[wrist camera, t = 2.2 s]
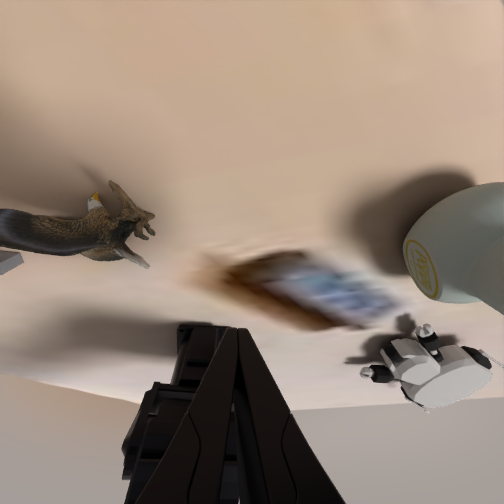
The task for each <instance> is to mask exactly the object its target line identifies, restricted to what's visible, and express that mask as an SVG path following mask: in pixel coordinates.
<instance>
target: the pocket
mask: <svg viewBox="0 0 504 504" xmlns="http://www.w3.org/2000/svg"><path fill="white" fill-rule="evenodd" d="M22 263H23V259H22V257H21V255H20V253H16V252H5V251H0V275H3V274H4V273H6V272H8V271H10V270H11V269H13V268H15V267H16V266H18V265H20V264H22Z"/></svg>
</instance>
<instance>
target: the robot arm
mask: <svg viewBox="0 0 504 504" xmlns="http://www.w3.org/2000/svg"><path fill="white" fill-rule="evenodd" d="M177 348H178V357H177V361H176V365H175V368H174V372H173V375H172V379H171V383H170V384H163V383H160V382H154V384H153V387H152V389H151V390H149V391H146V392H145V395H144V398H143V401H142V403H141V406H140V409H139V411H138V413H137V416H136V417H135V419H134V421H133V423H132V425H131V428H130V429H129V431H128V433H127V435H126V437H125V439H124V442H123V445H122V452H123V454H124V457H125V459H124V470H123V475H122V480H130V484H129V488H128V491H127V495H126V499H125V503H124V504H238V502H239V500H240V504H346V503H345V501H344V500H343V498H342V497H341V495H340V494H339V492H338V490H337V489H336V487H335V486H334V484H333V483H332V481H331V480H330V478H329V476H328V475H327V473H326V472H325V470H324V469H323V467H322V466H321V464H320V462H319V461H318V459H317V457H316V456H315V454H314V453H313V451H312V449H311V448H310V446H309V444H308V442H307V441H306V439H305V437H304V435H303V433H302V432H301V430H300V428H299V426H298V425H297V423H296V421H295V419H294V417H293V415H292V414H290V409H289V407H288V405H287V403H286V401H285V400H284V398H283V396H282V394H281V392H280V390H279V388H278V386H277V384H276V382H275V380H274V378H273V377H272V375H271V373H270V371H269V369H268V367H267V365H266V363H265V361H264V359H263V357H262V355H261V354H260V352H259V350H258V348H257V346H256V344H255V342H254V340H253V338H252V336H251V334H250V332H249V331H248V329H246V328H238V329H237V328H232V327H228V328H224V327H208V326H191V325H180V326H178V329H177Z"/></svg>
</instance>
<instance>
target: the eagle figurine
mask: <svg viewBox="0 0 504 504" xmlns="http://www.w3.org/2000/svg"><path fill="white" fill-rule="evenodd" d="M108 185H109V186H110V187H111V189H112V191H113V192H114V193H115V194H116V196H117V197H118V198H119V199H120V200H121V201H122V203H123V210H122V211H121V215H119V216H118V217H117V218H115V219H116V220H114V219H113V218H112V216H111V215H110V214H109V213H108V212H107V211H106V210H105V208H104V207H103V206H102V204H101V202H100V200H99V197H98V193H95V194H94V195H93V196H92V198H90V199H88V215H87V216H86V217H84V218H82V219H76V220H63V219H58V218H54V217H50V216H44V215H32V214H30V213H27V212H23V211H18V210H13V209H0V246H1V247H6V248H12V249H18V250H23V251H29V252H34V253H41V254H49V255H57V256H72V255H76V254H79V253H80V254H82V255H84V256H85V257H88V258H90V259H92V260H97V261H115V260H120V259H123V258H125V259H128V260H130V261H132V262H134V263H136V264H138V265H140V266H142V267H144V268H146V269H149V267H150V265H149V264H148V263H147V262H146V261H145V260H144V259H143V258H142V257H141V256H139V255H138V254H136V253H134V252H132V251H131V250H130V248H129V247H128V246H127V245H126V244H125V241H126V239H127V237H129V236H130V234H131V233H132V232H133V231H134V235H135V236H136V237H139V238H141V239H143V240H149V238H148V237H147V236H145V235H144V234H143V232H142V228H143V227H144V228H145V229H146V230H147V232H148V233H149V234H151V235H153V236H155V231H154V230H152V229H151V228H150V225H149V224H148V221H149V220H150V219H153V218H154V217H155V215H154V214H148V213H147V212H146V211H142V210H141V209H138V208H137V207H136V205H135V204H134V203H133V202H132V200H131V199H130V198H129V197H128V196H127V195H126V193H125V192H124V191H123V190H122V189H121V187H120V186H119V185H117V184H116V183H114V182H112V181H111V180H110V181H108Z"/></svg>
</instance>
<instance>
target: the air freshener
mask: <svg viewBox="0 0 504 504" xmlns="http://www.w3.org/2000/svg"><path fill="white" fill-rule="evenodd" d="M403 255H404V260H405V263H406V266H407V269H408V271H409V273H410V275H411V277H412V279H413V281H414V282H415V284H416V285H417V287H418V288H419V289H420V291H421V292H422V293H423V294H424V295H426V296H427V297H428V298H430V299H432V300H435V301H439V302H444V303H454V304H463V303H474V302H480V301H483V302H485V303H486V304H488V305H489V306H491V307H492V308H494V309H495V310H497V311H498V312H500V313H501V314H503V315H504V182H496V183H487V184H482V185H477V186H473V187H470V188H467V189H464V190H461V191H459V192H457V193H454V194H452V195H450V196H448V197H446V198H445V199H443V200H441V201H440V202H438V203H437V204H435V205H434V206H433V207H431V208H430V209H429V210H427V211H426V212H425V213H424V214H423V215H422V216H421V217H420V218H419V219H418V220H417V221H416V223H415V224H414V225H413V226H412V228H411V229H410V231H409V232H408V234H407V236H406V238H405V240H404V243H403Z"/></svg>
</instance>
